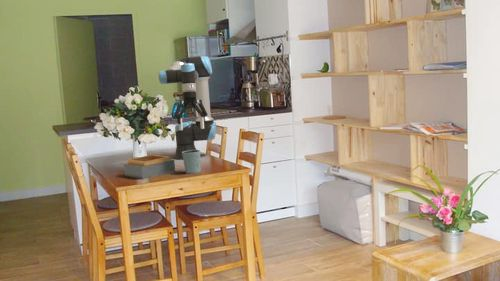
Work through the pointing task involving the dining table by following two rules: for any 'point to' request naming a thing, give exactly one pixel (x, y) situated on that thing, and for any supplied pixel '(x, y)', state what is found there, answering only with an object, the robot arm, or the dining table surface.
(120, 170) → the dining table surface
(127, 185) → the dining table surface
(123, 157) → the dining table surface
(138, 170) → the grey rectangular box
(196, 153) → the green tapered cup
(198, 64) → the robot arm
